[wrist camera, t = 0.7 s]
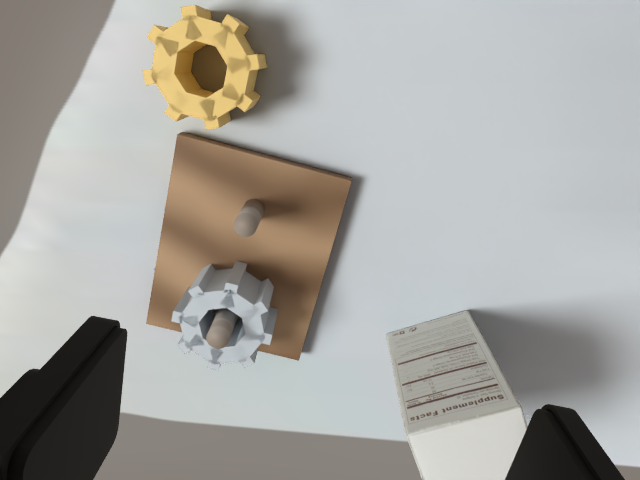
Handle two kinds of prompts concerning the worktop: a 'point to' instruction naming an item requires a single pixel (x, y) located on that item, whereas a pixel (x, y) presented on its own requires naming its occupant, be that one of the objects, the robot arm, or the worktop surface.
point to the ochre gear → (177, 62)
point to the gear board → (265, 249)
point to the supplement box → (455, 400)
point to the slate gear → (237, 296)
